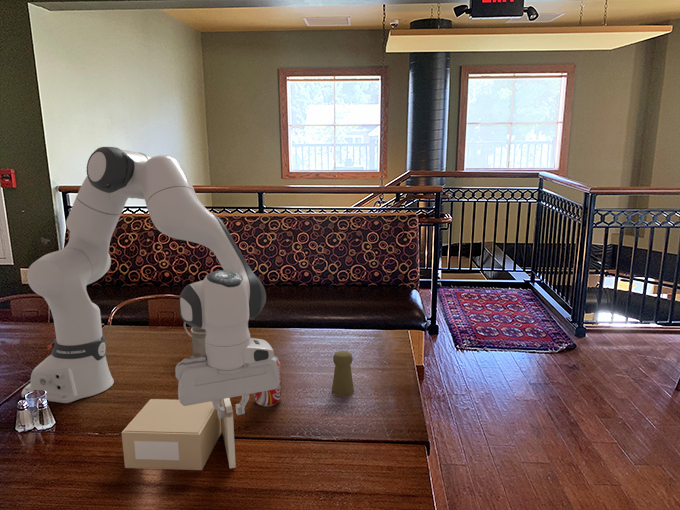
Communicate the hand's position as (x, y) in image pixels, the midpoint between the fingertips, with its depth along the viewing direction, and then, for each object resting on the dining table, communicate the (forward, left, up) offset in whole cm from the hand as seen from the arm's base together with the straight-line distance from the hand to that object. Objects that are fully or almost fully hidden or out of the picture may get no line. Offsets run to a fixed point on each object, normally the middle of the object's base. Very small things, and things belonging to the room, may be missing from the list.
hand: (231, 415), depth 104 cm
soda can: (+3, +25, -10) cm, 27 cm away
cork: (+22, +32, -10) cm, 40 cm away
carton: (-13, +3, -10) cm, 17 cm away
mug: (-24, +54, -10) cm, 60 cm away
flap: (-2, +3, -10) cm, 11 cm away
